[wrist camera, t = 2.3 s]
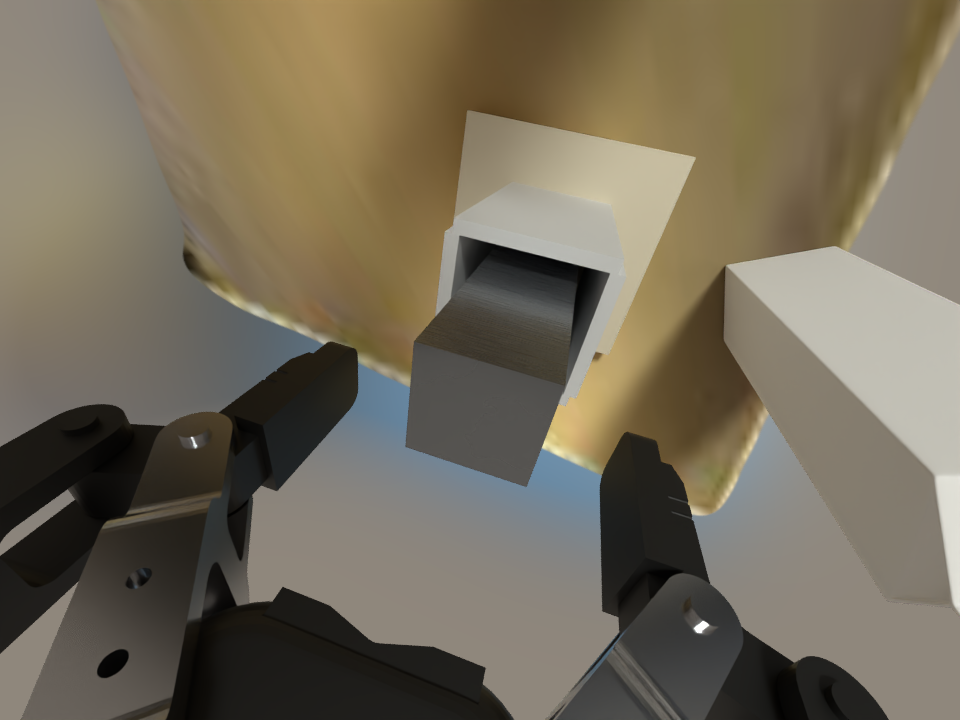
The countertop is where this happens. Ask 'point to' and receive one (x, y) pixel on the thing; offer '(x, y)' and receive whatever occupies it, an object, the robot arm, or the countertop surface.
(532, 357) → the steel post
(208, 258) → the countertop surface
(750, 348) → the milk
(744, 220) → the countertop surface
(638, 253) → the sleeve stand
